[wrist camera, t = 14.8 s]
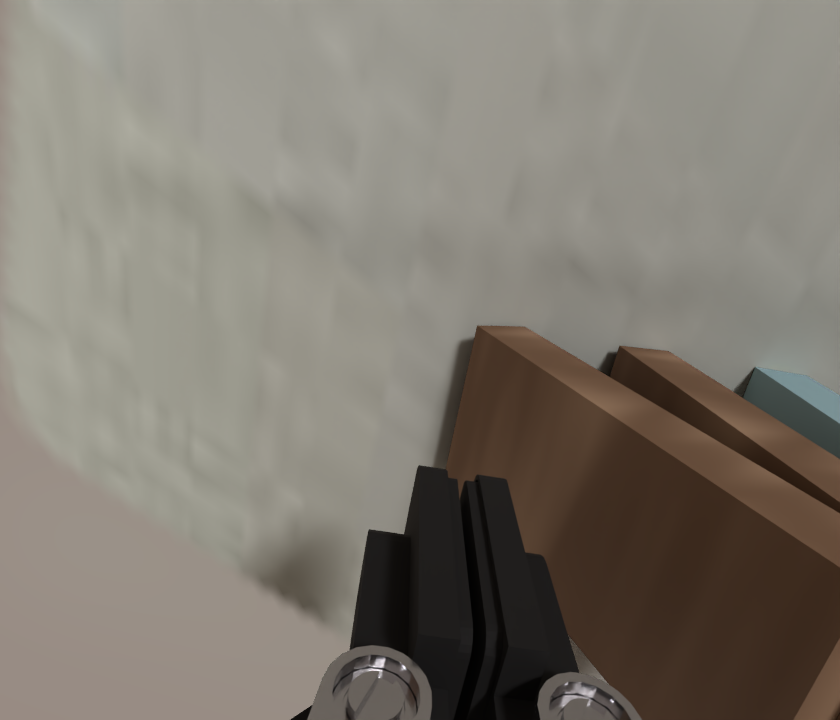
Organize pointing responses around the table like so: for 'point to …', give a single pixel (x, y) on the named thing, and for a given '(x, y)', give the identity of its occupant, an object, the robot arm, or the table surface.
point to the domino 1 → (657, 539)
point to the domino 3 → (798, 405)
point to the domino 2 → (730, 421)
